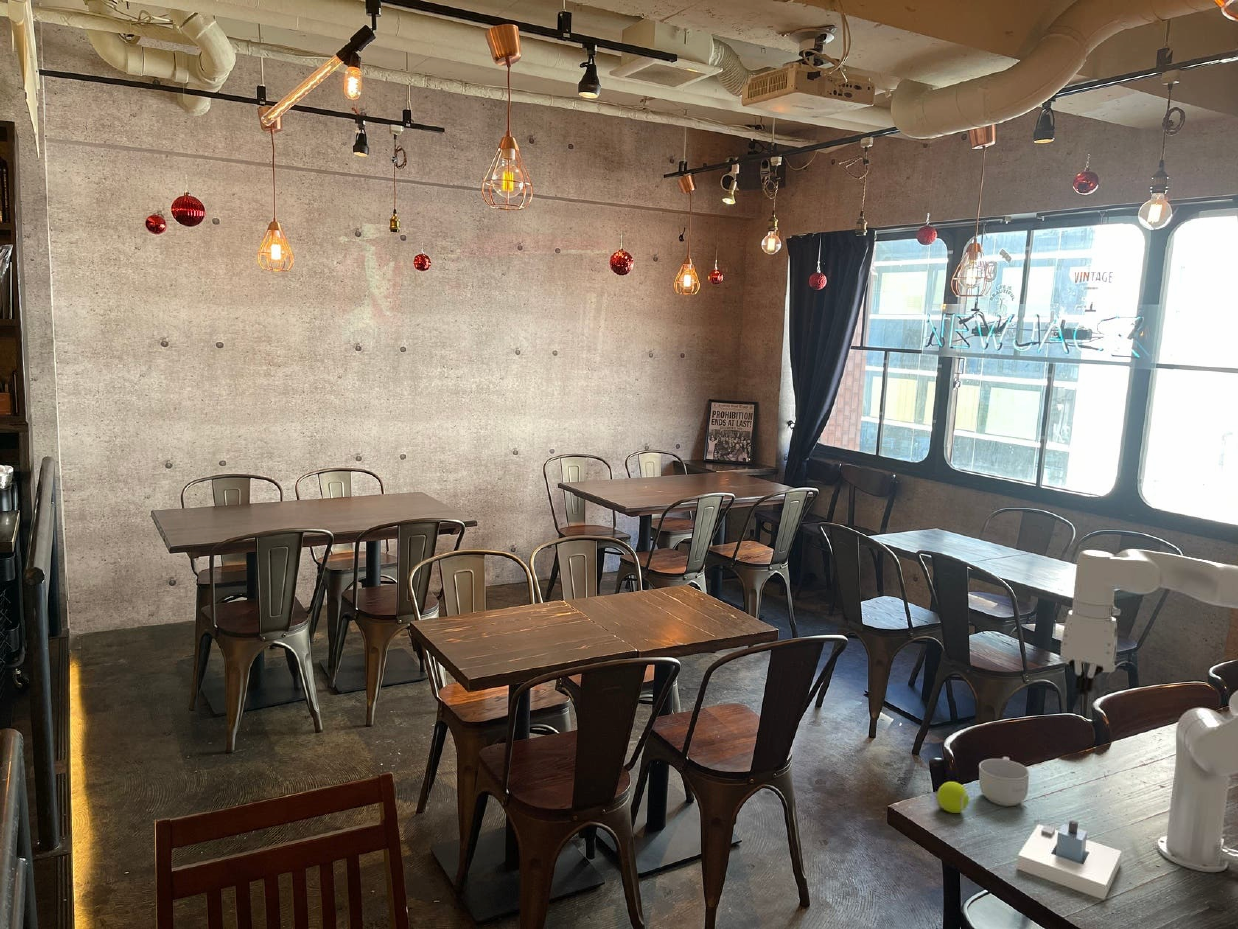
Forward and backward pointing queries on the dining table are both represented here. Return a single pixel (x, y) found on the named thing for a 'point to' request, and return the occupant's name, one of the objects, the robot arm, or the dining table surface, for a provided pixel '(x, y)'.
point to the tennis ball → (953, 797)
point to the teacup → (1003, 781)
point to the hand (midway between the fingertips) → (1083, 693)
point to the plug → (1071, 842)
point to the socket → (1069, 863)
